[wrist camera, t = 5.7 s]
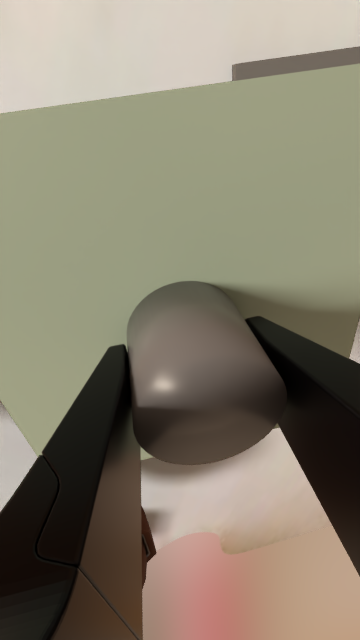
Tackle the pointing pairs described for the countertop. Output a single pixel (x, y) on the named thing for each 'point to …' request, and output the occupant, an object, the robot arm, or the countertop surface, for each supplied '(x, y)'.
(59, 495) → the robot arm
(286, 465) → the countertop surface
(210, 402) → the cover
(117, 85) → the countertop surface
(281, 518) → the countertop surface
